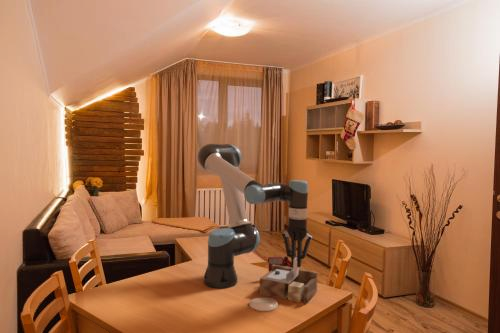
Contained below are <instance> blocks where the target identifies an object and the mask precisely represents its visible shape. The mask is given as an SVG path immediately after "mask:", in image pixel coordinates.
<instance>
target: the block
mask: <svg viewBox="0 0 500 333" xmlns="http://www.w3.org/2000/svg"><path fill="white" fill-rule="evenodd" d="M303 300H304V283H299V282H293V281H292V282H291V283H290V284H289V285H288V296H287V301H292V302H295V303H301V302H302V301H303Z"/></svg>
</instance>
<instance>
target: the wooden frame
mask: <svg viewBox="0 0 500 333" xmlns="http://www.w3.org/2000/svg"><path fill="white" fill-rule="evenodd" d="M276 269H282V270H287V271H291V270H292V269H293V268H291V267H285V266H279V265H272V270H271V271H269V270H268V271H267V273H266V274H264V275H262V277H260V278H259V294H260V295H265V296H268V297H273V298H277V297H278V299H282V300H283V299H284V300H285V299H286V298H288V285H289V284H290V283H289V284H287V283H282V282H277V281H272V280H266V277H267V276H268V275H270V274H271V273H272V272H274V271H275V270H276ZM318 273H319V272H318V271H315V270H307V269H301V268H299V275H298V276H297V277H296V278H295V279H294V280H293V282H299V283H304V298H303V304H309V302H310V301H311V300H312V299H313V297H314V296H315V295H316V294H317V293H318V279H319V278H318Z"/></svg>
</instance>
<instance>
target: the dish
mask: <svg viewBox="0 0 500 333" xmlns="http://www.w3.org/2000/svg"><path fill="white" fill-rule="evenodd" d="M249 308H251V309H252V310H254V311H258V312H271V311H274V310H276V309H278V308H279V303H278V301H277V300H275V299H274V298H270V297H255V298H252V299H251V300H249Z"/></svg>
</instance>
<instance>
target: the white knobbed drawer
mask: <svg viewBox="0 0 500 333" xmlns="http://www.w3.org/2000/svg"><path fill="white" fill-rule="evenodd" d="M298 275H299V274H298ZM298 275H297V276H298ZM297 276H296V275H293V269H292V270H291V271H287V270H282V269H276V270H275V271H274V272H272V273H271V274H270V275H268V276H267V277H266V280H272V281H277V282H282V283H287V284H289V283H291V282H292V281H293V280H294V279H295V278H296V277H297Z"/></svg>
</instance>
